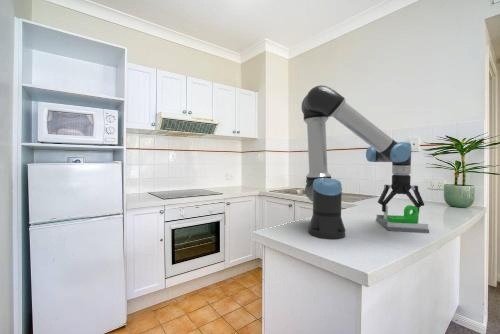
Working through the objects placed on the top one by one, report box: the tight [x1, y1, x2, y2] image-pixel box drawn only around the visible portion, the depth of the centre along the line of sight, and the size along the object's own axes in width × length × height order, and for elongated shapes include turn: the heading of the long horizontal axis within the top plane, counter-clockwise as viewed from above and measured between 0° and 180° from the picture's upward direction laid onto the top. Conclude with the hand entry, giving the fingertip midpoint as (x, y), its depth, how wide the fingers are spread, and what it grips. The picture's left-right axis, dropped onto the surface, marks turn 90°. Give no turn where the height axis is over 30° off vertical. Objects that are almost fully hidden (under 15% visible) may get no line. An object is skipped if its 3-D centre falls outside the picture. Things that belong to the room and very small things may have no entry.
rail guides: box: [375, 214, 429, 229], centre depth 113 cm, size 16×16×2 cm
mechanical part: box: [388, 204, 420, 224], centre depth 111 cm, size 12×6×8 cm, turn 92°
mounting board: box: [375, 218, 430, 234], centre depth 113 cm, size 16×18×2 cm
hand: (400, 219), depth 113 cm, fingers closed on mechanical part, 12 cm apart
